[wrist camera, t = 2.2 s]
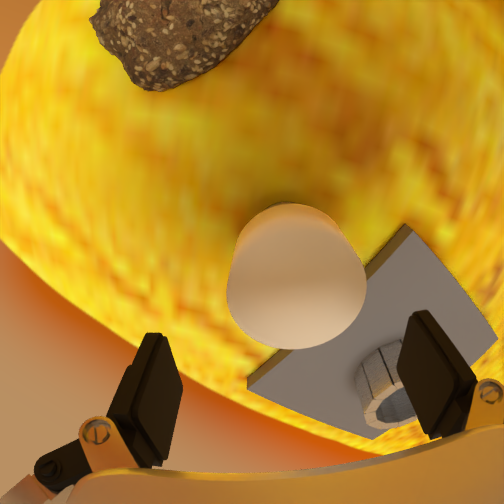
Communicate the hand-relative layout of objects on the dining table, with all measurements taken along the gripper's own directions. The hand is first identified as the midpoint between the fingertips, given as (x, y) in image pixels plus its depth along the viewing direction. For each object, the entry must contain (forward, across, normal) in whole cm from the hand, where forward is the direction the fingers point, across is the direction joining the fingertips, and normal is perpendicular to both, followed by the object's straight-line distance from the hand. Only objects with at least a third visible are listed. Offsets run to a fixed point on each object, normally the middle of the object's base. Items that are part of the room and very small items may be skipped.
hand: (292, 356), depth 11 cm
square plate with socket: (+12, -11, +14) cm, 21 cm away
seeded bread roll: (+12, +5, -18) cm, 23 cm away
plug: (+12, -1, 0) cm, 12 cm away
